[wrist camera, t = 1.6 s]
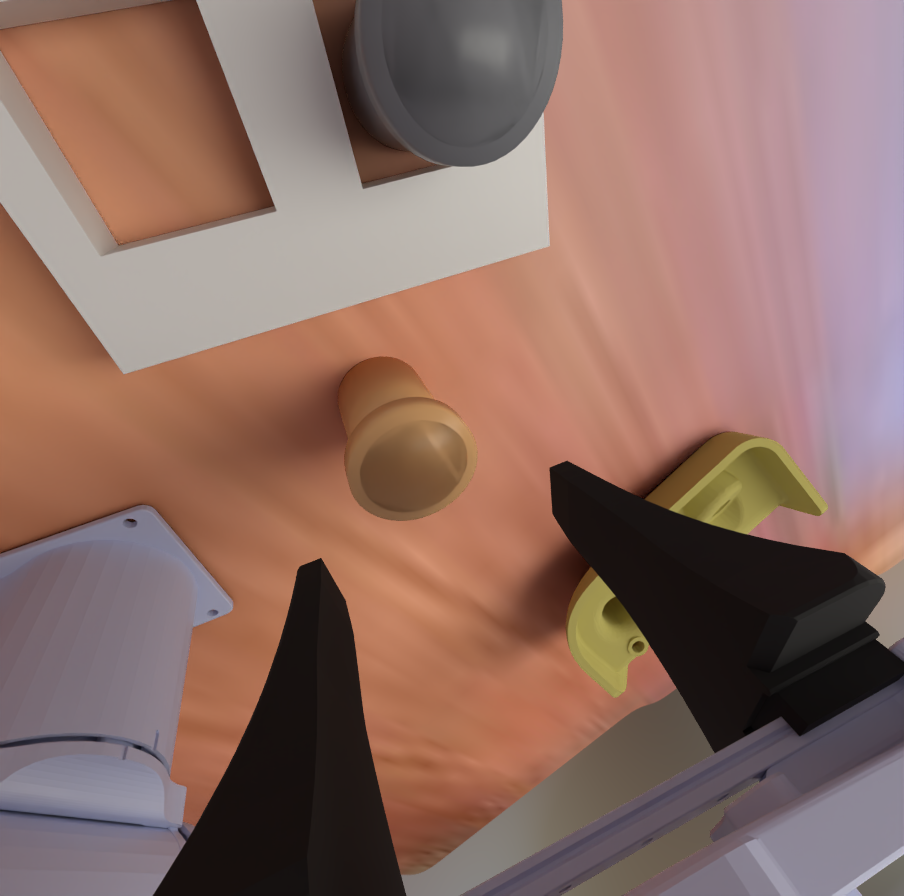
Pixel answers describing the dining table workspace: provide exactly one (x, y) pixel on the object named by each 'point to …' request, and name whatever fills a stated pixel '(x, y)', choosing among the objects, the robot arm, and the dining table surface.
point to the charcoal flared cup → (452, 74)
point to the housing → (267, 230)
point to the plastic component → (702, 498)
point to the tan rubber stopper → (402, 442)
